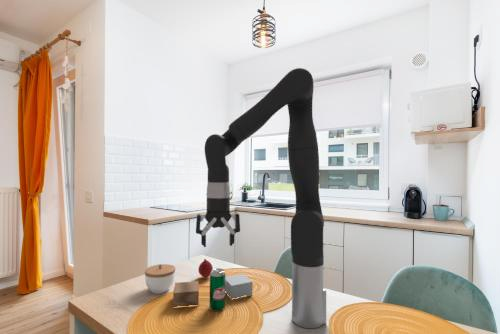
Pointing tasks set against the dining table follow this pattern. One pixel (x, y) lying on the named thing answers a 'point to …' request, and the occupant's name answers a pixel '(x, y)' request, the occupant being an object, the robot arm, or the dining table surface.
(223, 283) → the soda can
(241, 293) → the grey block
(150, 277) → the lidded jar
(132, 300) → the dining table surface
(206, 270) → the onion
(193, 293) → the walnut block
